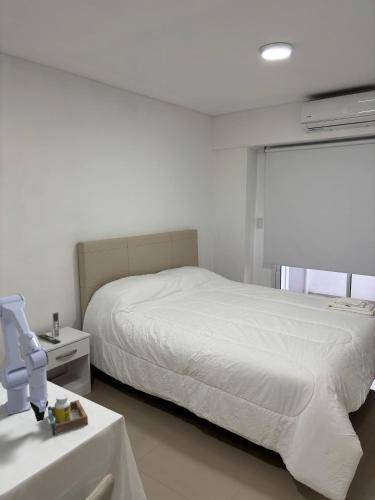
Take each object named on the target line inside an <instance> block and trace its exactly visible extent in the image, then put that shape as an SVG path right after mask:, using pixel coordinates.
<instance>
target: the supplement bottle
mask: <svg viewBox="0 0 375 500" xmlns="http://www.w3.org/2000/svg"><path fill="white" fill-rule="evenodd" d="M55 398H56V400H55V402H54V407H55V416H54V422H55V424H58V423H61V422H65V421H68V420H71V413H72V412H71V411H70V402H71V401H70V400H69V396H68V394H67V393H61V394H58V395H56V397H55Z"/></svg>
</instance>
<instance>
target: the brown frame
mask: <svg viewBox="0 0 375 500" xmlns="http://www.w3.org/2000/svg"><path fill="white" fill-rule="evenodd" d="M79 400H80V399H77V400H73V401H70V412H72V411H77V413H78V415H79V417H76V418H72V419H71V420H68V421H65V422H61V423H58V424H56V423H52V428H51V431H52V436H56V435H58V434H61V433H64V432H67V431H70V430H74V429H77V428H81V427H83V426H86V425H89V419H88V414H87V413H86V411H85V410H84V409H85V408H84V406H82V404H81V402H80V401H79ZM51 410H52V414H53V417H55V406H51Z"/></svg>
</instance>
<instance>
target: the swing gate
mask: <svg viewBox="0 0 375 500" xmlns="http://www.w3.org/2000/svg"><path fill="white" fill-rule="evenodd" d="M51 407H52V406H50V405H48V406H47V414H48V419H49V422H50V427H51V429H52V423H55V417H54V416H53V414H52V410H51ZM55 424H56V423H55Z"/></svg>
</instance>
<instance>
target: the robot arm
mask: <svg viewBox="0 0 375 500" xmlns="http://www.w3.org/2000/svg"><path fill="white" fill-rule="evenodd" d="M26 305H27V304H26V298H25V296H24V295H23V294H22V293H18V294H14V295H9V296H3V297H0V327H1V332H2V339H3V345H4V349H5V355H6V357H5V358H6V363H5V364H4V365H3V366H2V367H1V369H0V384H1V387H2V388H3V389H4V390H5V391H6V396H7V397H6V398H7V401H6V402H5V407H6V411H7V415H9V416H10V415H15V414H17V413H22V412H25V411H29V410H31V409H32V411H33V412H34V415H35V420H36V422H38V423H39V422H42V421H44V419H45V412H46V411H47V409H48V407H49V401H48V398H49V394H48V382H47V365H48V364H49V363H50V358H49V354H48V351H47V349H45V348H44V346H41V344H40V341H39V339H38V338H37V335H36V332H34V331H32V330H30V326H29V323H28V320H27V317H26V315H25V311H26ZM17 333H18V334H17ZM18 335H19V337H18ZM20 348H21V350H22V352H23V355H24V360H23V359H22V356H21V350H20ZM28 389H29V390H28ZM28 391H29V392H28Z"/></svg>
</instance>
